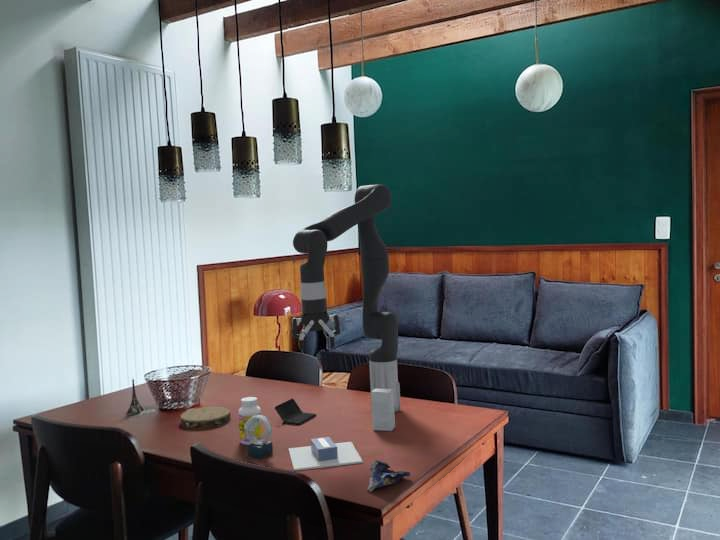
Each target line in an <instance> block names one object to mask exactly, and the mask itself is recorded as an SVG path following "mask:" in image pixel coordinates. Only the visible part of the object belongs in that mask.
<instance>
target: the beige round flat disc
mask: <svg viewBox="0 0 720 540" xmlns="http://www.w3.org/2000/svg"><path fill="white" fill-rule="evenodd" d="M230 418H231V410H230V408H227V407H226V406H204V407H197V408H193V409H190V410H187V411H186V410H185V411H184V412H183V413H181V414H180V425H181V426H182V427H184V428H186V429H190V428H204V429H210V428H209V427H212V428H216V427H219V426H218V425H220V426H223V425H225V424H224V423H226V424H227V423H229V422H230V421H231V419H230ZM228 421H229V422H228ZM222 424H223V425H222ZM215 426H216V427H215Z"/></svg>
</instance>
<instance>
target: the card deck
mask: <svg viewBox="0 0 720 540" xmlns="http://www.w3.org/2000/svg"><path fill="white" fill-rule="evenodd" d="M310 446H311V451H312V452H313V454H314V455H315V457H316V458H317V460H318V461H325V460H332V459H338V452H337V446H336V445H335V443H334V441H333V440H332V438H331V437H330V436H324V437H316V438H310Z"/></svg>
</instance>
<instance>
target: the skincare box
mask: <svg viewBox="0 0 720 540" xmlns="http://www.w3.org/2000/svg"><path fill="white" fill-rule="evenodd" d="M371 399H372V410H371V414H372V415H371V417H372V431H387V432H392V431H393V430H394V429H395V427H396V422H395V421H396V419H395V412H394V396H393V389H374V390H373V391H371V390H370V400H371Z"/></svg>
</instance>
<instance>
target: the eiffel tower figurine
mask: <svg viewBox="0 0 720 540" xmlns="http://www.w3.org/2000/svg"><path fill="white" fill-rule="evenodd" d="M131 382H132V397H131V403H130V404H129V408H128V409H127V412H126V413H125V416H127V415H128V416H129V415H131V417H130V419H133V416H132V415H135V416H134V418H135V417H140V416H143V415H147V414H151V413H155V411H156V409H155V408H152V405H146V407H148V408H150V409H145V408H143V406H142V405H141V403H140V402H139V400H138V397H137V394H136V393H137V392H136V387H135V379H134V378H132V380H131ZM127 419H129V417H122V418H121V419H120V420H121V421H123V420H127Z"/></svg>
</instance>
